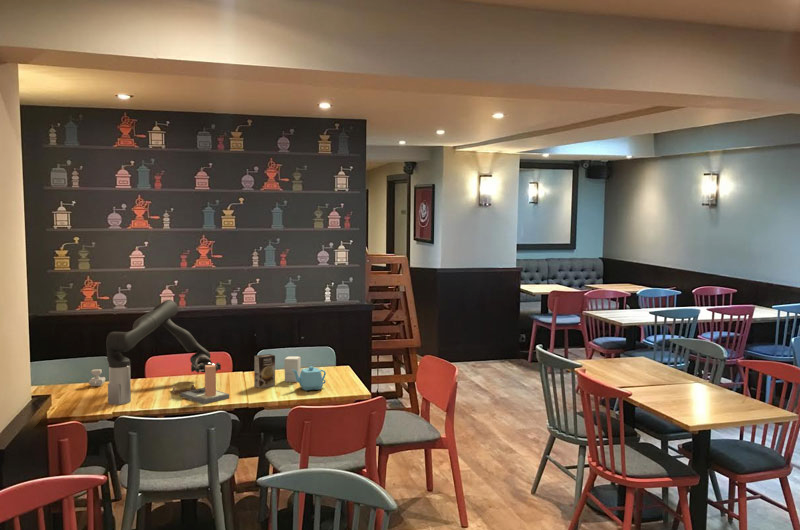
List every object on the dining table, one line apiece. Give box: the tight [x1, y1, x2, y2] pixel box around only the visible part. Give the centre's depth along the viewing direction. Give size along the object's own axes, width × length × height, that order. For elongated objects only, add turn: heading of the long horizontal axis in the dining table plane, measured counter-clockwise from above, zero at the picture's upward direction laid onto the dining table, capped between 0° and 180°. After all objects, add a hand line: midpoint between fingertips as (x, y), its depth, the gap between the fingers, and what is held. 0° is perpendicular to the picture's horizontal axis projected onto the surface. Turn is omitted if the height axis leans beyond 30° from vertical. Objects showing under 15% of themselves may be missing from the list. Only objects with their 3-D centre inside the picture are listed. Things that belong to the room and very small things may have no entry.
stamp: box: [88, 368, 106, 387], centre depth 334 cm, size 9×7×8 cm
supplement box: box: [283, 355, 302, 383], centre depth 349 cm, size 7×7×13 cm
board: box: [179, 386, 230, 405], centre depth 314 cm, size 20×14×2 cm
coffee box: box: [253, 353, 276, 389], centre depth 336 cm, size 9×6×16 cm
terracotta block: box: [204, 365, 217, 396], centre depth 310 cm, size 4×4×14 cm
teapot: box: [292, 365, 327, 392], centre depth 331 cm, size 12×18×12 cm
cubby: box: [172, 384, 196, 395], centre depth 325 cm, size 9×10×2 cm
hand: (207, 370), depth 320 cm, fingers open, 8 cm apart
